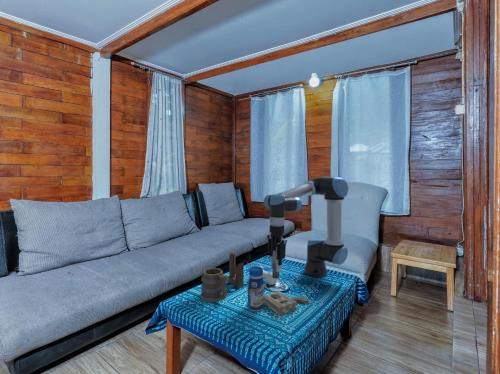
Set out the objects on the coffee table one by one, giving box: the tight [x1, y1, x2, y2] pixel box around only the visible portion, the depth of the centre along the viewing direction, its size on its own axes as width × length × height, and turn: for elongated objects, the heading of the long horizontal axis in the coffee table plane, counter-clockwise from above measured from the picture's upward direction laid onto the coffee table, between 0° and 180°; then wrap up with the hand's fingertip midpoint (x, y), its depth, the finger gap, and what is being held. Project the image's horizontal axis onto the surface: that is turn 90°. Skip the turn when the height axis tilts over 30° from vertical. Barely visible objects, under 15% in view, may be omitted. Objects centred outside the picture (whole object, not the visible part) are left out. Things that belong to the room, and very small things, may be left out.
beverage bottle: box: [246, 266, 265, 312], centre depth 136 cm, size 8×8×20 cm
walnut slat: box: [290, 296, 309, 305], centre depth 143 cm, size 9×3×2 cm, turn 77°
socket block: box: [264, 291, 298, 316], centre depth 139 cm, size 11×14×4 cm
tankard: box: [199, 267, 230, 303], centre depth 144 cm, size 20×13×15 cm, turn 40°
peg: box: [271, 248, 280, 280], centre depth 140 cm, size 4×4×14 cm
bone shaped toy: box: [257, 265, 278, 286], centre depth 168 cm, size 15×9×8 cm, turn 41°
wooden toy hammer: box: [227, 252, 245, 288], centre depth 163 cm, size 4×11×18 cm, turn 42°
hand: (276, 269), depth 140 cm, fingers closed on peg, 3 cm apart
